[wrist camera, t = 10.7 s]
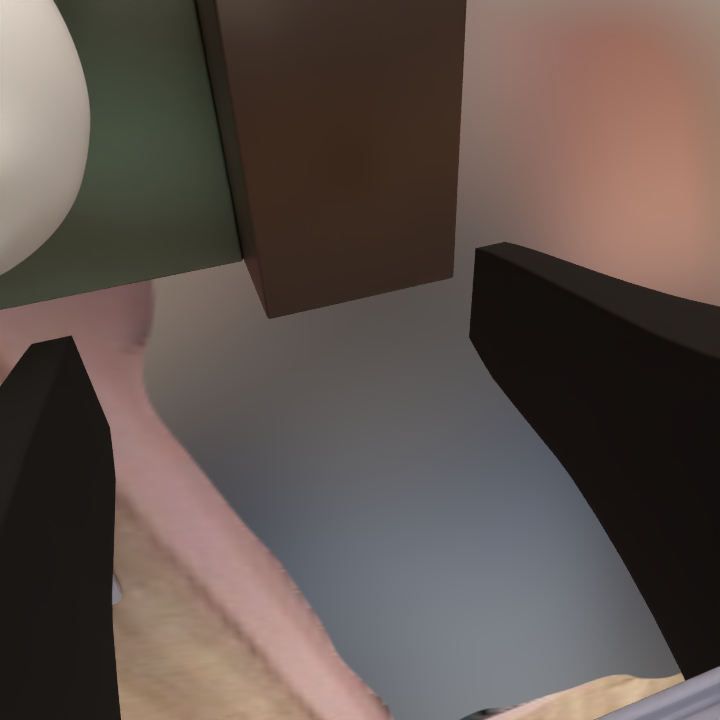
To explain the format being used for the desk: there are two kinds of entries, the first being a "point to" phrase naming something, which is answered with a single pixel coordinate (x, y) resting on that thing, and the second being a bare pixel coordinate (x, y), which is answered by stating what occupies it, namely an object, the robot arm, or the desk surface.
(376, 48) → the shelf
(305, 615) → the desk surface
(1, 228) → the milkshake
